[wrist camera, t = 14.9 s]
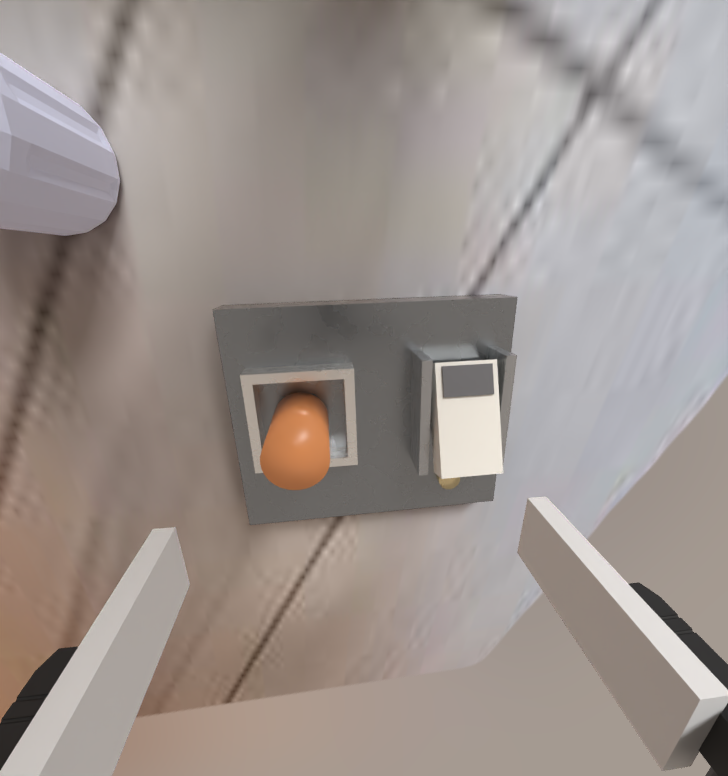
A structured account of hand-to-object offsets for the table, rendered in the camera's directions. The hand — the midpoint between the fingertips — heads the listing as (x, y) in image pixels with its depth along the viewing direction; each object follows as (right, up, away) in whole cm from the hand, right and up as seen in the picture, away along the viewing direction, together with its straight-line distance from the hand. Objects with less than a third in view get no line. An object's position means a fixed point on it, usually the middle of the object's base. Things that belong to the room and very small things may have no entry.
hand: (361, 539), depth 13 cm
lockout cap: (-5, +3, +16) cm, 18 cm away
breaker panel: (+1, +4, +20) cm, 20 cm away
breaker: (+8, +3, +15) cm, 17 cm away
